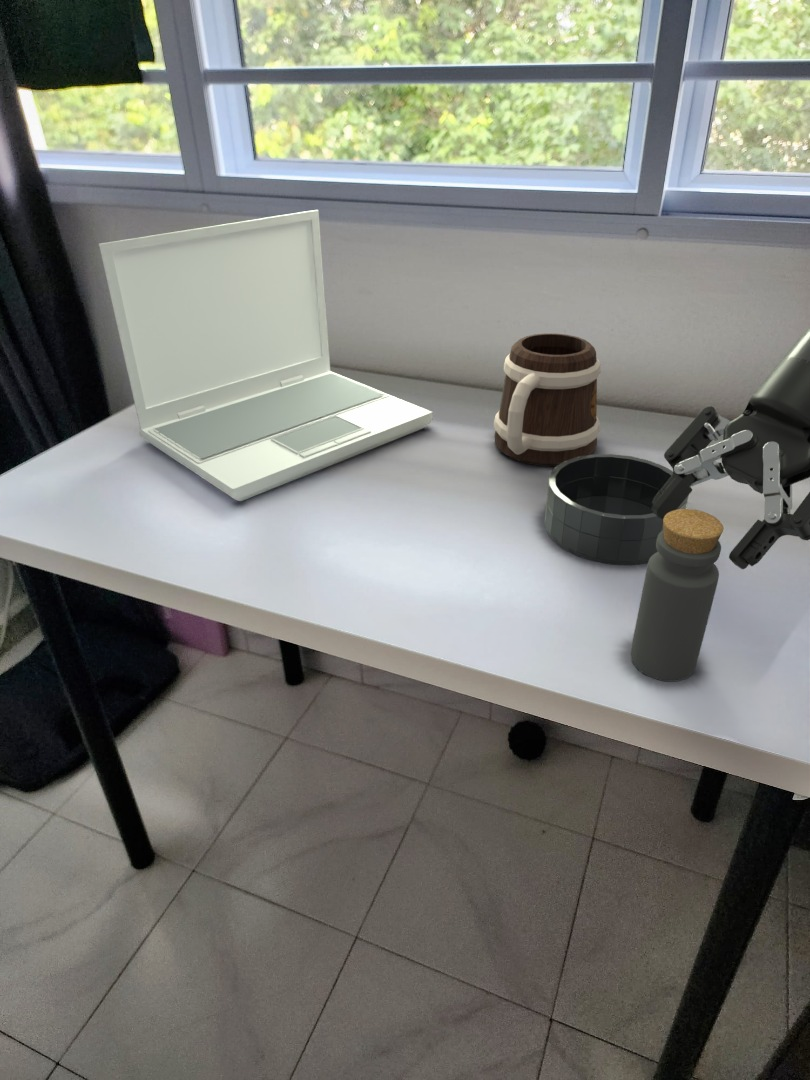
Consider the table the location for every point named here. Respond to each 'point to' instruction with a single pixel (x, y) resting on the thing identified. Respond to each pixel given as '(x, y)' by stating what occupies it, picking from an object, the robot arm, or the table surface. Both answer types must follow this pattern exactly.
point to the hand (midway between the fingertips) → (694, 538)
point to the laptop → (242, 354)
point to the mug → (549, 400)
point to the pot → (606, 507)
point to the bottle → (677, 595)
